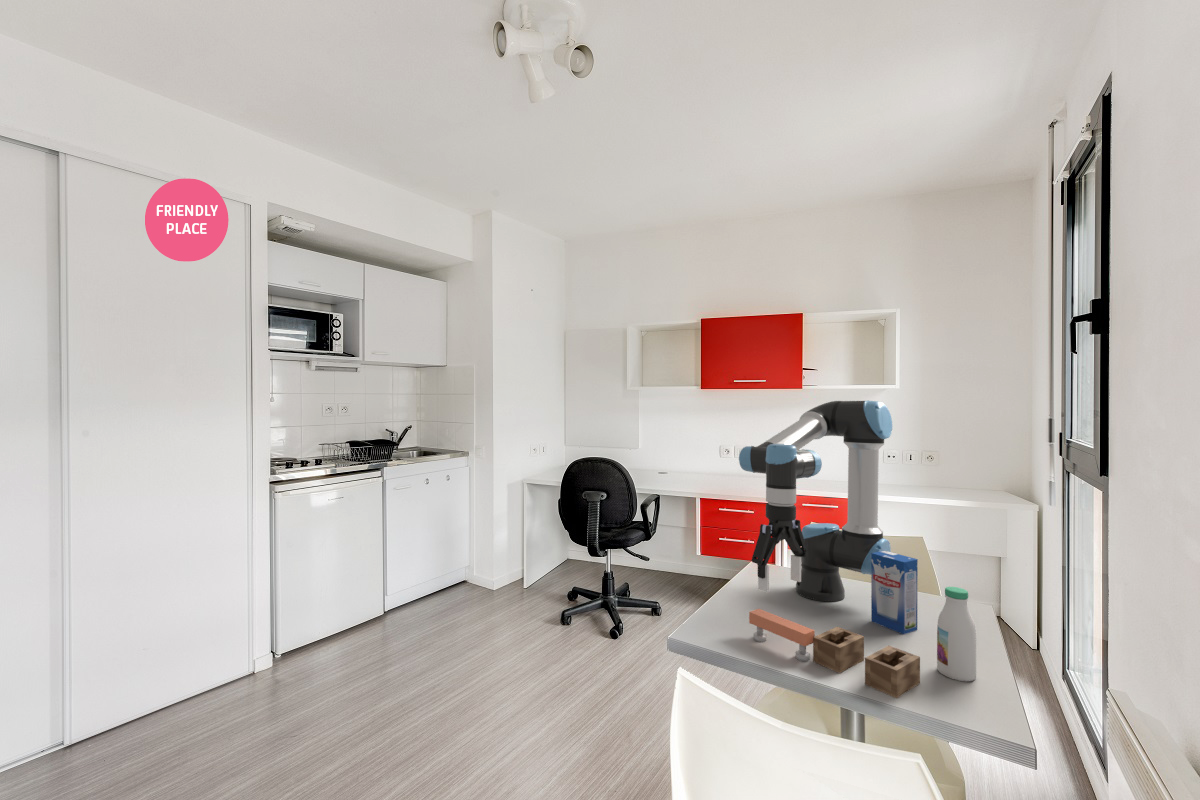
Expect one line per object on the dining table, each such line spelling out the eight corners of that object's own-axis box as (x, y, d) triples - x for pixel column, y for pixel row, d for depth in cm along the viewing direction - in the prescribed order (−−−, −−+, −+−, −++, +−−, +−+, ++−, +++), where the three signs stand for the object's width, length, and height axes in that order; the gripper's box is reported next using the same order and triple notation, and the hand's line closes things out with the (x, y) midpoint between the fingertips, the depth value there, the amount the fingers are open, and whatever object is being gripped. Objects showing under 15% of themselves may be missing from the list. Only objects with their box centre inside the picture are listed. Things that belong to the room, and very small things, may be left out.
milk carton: (871, 621, 156) (871, 553, 156) (884, 617, 159) (884, 550, 159) (904, 634, 147) (904, 562, 147) (917, 630, 150) (917, 559, 150)
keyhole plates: (837, 649, 138) (837, 626, 138) (919, 683, 121) (920, 656, 121) (813, 661, 131) (813, 637, 131) (896, 698, 115) (896, 670, 115)
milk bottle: (978, 673, 126) (978, 588, 126) (973, 686, 120) (973, 597, 120) (940, 662, 131) (940, 581, 131) (934, 674, 125) (934, 589, 125)
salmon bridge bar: (749, 638, 144) (749, 611, 144) (758, 634, 146) (758, 608, 147) (805, 663, 130) (805, 634, 130) (814, 659, 133) (814, 630, 133)
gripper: (796, 497, 149) (796, 573, 149) (737, 506, 134) (736, 590, 134) (821, 501, 143) (820, 580, 143) (762, 511, 128) (761, 599, 128)
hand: (780, 585), depth 138 cm, fingers open, 13 cm apart
